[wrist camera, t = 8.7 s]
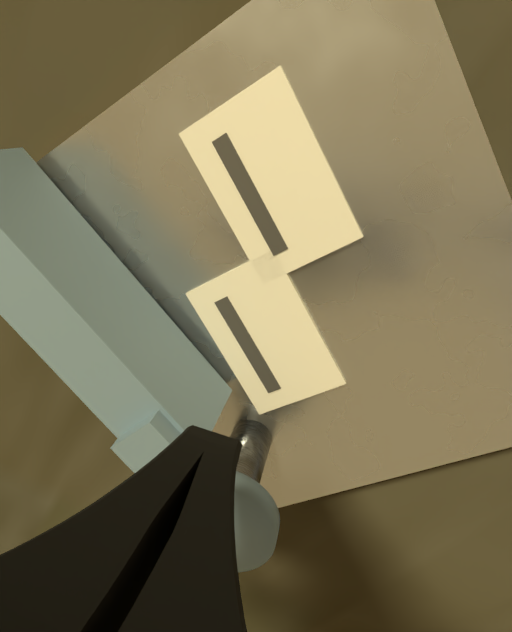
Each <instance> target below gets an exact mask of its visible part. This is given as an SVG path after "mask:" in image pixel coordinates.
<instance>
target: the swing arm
mask: <svg viewBox="0 0 512 632" xmlns="http://www.w3.org/2000/svg"><path fill="white" fill-rule="evenodd" d="M0 315H1V316H2V317H3V318H4V319H5V320H6V321H7V322H8V323H9V324H10V325H11V326H12V327H13V329H14V330H15V331H16V332H17V333H18V334H19V335H20V336H21V337H22V338H23V339H24V340H25V341H26V342H27V343H28V344H29V345H30V346H31V348H32V349H33V350H34V351H35V352H36V353H37V354H38V355H39V356H40V357H41V358H42V359H43V360H44V361H45V362H46V363H47V364H48V365H49V366H50V368H51V369H52V370H53V371H54V372H55V373H56V374H57V375H58V376H59V377H60V378H61V379H62V380H63V381H64V382H65V383H66V384H67V385H68V386H69V388H70V389H71V390H72V391H73V392H74V393H75V394H76V395H77V396H78V397H79V398H80V399H81V400H82V401H83V402H84V403H85V404H86V405H87V407H88V408H89V409H90V410H91V411H92V412H93V413H94V414H95V415H96V416H97V417H98V418H99V419H100V420H101V421H102V422H103V423H104V424H105V425H106V427H107V428H108V429H109V430H110V431H111V432H112V433H113V434H114V435H115V436H116V437H117V438H118V439H117V440H116V441H115V443H114V444H113V445H112V447H111V449H112V450H113V451H114V452H115V453H116V455H117V456H118V457H119V458H120V459H121V460H122V461H123V462H124V463H125V464H126V465H127V466H128V467H129V468H130V469H131V470H132V471H133V472H134V473H136V472H137V471H138V470H140V469H141V468H142V467H143V466H145V465H146V464H147V463H148V462H150V461H151V460H152V459H153V458H155V457H156V456H157V455H158V454H159V453H160V452H162V451H163V450H164V449H165V448H166V447H167V446H168V445H170V444H171V443H172V442H173V441H174V440H175V439H176V438H177V437H178V436H179V435H180V434H181V433H182V432H183V431H184V430H185V429H186V428H187V427H189V426H191V425H194V426H197V427H200V428H203V429H206V430H210V431H212V430H213V428H214V426H215V424H216V422H217V420H218V418H219V416H220V414H221V412H222V410H223V408H224V406H225V404H226V402H227V400H228V398H229V396H230V394H231V392H232V389H231V388H230V387H229V386H228V384H227V383H226V382H225V381H224V380H223V379H222V378H221V376H220V375H219V374H218V373H217V372H216V371H215V369H214V368H213V367H212V366H211V365H210V364H209V362H208V361H207V360H206V359H205V358H204V357H203V356H202V354H201V353H200V352H199V351H198V350H197V349H196V347H195V346H194V345H193V344H192V343H191V342H190V341H189V339H188V338H187V337H186V336H185V335H184V334H183V332H182V331H181V330H180V329H179V328H178V327H177V325H176V324H175V323H174V322H173V321H172V320H171V319H170V317H169V316H168V315H167V314H166V313H165V312H164V310H163V309H162V308H161V307H160V306H159V305H158V304H157V302H156V301H155V300H154V299H153V298H152V297H151V295H150V294H149V293H148V292H147V291H146V290H145V288H144V287H143V286H142V285H141V284H140V283H139V282H138V280H137V279H136V278H135V277H134V276H133V275H132V273H131V272H130V271H129V270H128V269H127V268H126V267H125V265H124V264H123V263H122V262H121V261H120V260H119V258H118V257H117V256H116V255H115V254H114V253H113V251H112V250H111V249H110V248H109V247H108V246H107V245H106V243H105V242H104V241H103V240H102V239H101V238H100V236H99V235H98V234H97V233H96V232H95V231H94V230H93V228H92V227H91V226H90V225H89V224H88V223H87V221H86V220H85V219H84V218H83V217H82V216H81V214H80V213H79V212H78V211H77V210H76V209H75V208H74V206H73V205H72V204H71V203H70V202H69V201H68V199H67V198H66V197H65V196H64V195H63V194H62V192H61V191H60V190H59V189H58V188H57V187H56V186H55V184H54V183H53V182H52V181H51V180H50V179H49V177H48V176H47V175H46V174H45V173H44V172H43V171H42V169H41V168H40V167H39V166H38V165H37V164H36V162H35V161H34V160H33V159H32V158H31V157H30V155H29V154H28V153H27V152H26V151H25V150H24V149H23V148H12V149H0ZM234 527H235V545H236V558H237V569H238V572H245V571H250V570H253V569H256V568H258V567H260V566H262V565H263V564H264V563H266V562H267V561H268V560H269V559H270V557H271V556H272V554H273V552H274V550H275V546H276V541H277V537H278V532H279V527H280V514H279V510H278V507H277V505H276V503H275V501H274V499H273V498H272V496H271V495H270V494H269V493H268V491H267V490H266V489H265V488H264V487H263V486H262V485H260V484H259V483H258V482H257V481H255V480H254V479H252V478H250V477H249V476H247V475H245V474H243V473H240V472H238V471H236V478H235V492H234Z"/></svg>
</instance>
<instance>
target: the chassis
mask: <svg viewBox="0 0 512 632" xmlns="http://www.w3.org/2000/svg"><path fill="white" fill-rule="evenodd" d="M280 65H281V66H282V68H283V70H284V72H285V74H286V76H287V78H288V81H289V83H290V85H291V87H292V89H293V91H294V93H295V95H296V97H297V99H298V101H299V103H300V105H301V107H302V110H303V112H304V114H305V116H306V118H307V120H308V122H309V124H310V126H311V128H312V130H313V132H314V134H315V136H316V139H317V141H318V143H319V145H320V147H321V149H322V151H323V153H324V155H325V157H326V159H327V161H328V163H329V165H330V167H331V170H332V172H333V174H334V176H335V178H336V180H337V182H338V184H339V186H340V188H341V190H342V192H343V194H344V196H345V199H346V201H347V203H348V205H349V207H350V209H351V211H352V213H353V215H354V217H355V219H356V221H357V223H358V225H359V228H360V230H361V232H362V234H363V237H362V238H360V239H358V240H356V241H354V242H352V243H350V244H348V245H346V246H343V247H341V248H339V249H337V250H335V251H333V252H331V253H329V254H327V255H325V256H322V257H320V258H318V259H316V260H314V261H312V262H310V263H308V264H306V265H304V266H301V267H299V268H297V269H295V270H293V271H291V272H289V273H288V274H289V276H290V278H291V280H292V281H293V283H294V285H295V287H296V289H297V291H298V293H299V294H300V296H301V298H302V300H303V302H304V304H305V305H306V307H307V309H308V311H309V313H310V315H311V317H312V318H313V320H314V322H315V324H316V326H317V328H318V330H319V331H320V333H321V335H322V337H323V339H324V341H325V342H326V344H327V346H328V348H329V350H330V352H331V354H332V355H333V357H334V359H335V361H336V363H337V365H338V366H339V368H340V370H341V372H342V374H343V376H344V378H345V379H346V384H345V385H342V386H339V387H336V388H333V389H330V390H328V391H325V392H322V393H319V394H316V395H313V396H311V397H308V398H305V399H302V400H299V401H297V402H294V403H291V404H288V405H285V406H282V407H280V408H277V409H274V410H271V411H268V412H266V413H263V414H260V415H259V413H258V412H257V410H256V408H255V407H254V405H253V403H252V402H251V400H250V399H249V397H248V395H247V394H246V392H245V390H244V389H243V387H242V386H241V384H240V382H239V381H238V379H237V377H236V376H235V374H234V372H233V371H232V369H231V368H230V366H229V364H228V363H227V361H226V359H225V358H224V356H223V355H222V353H221V351H220V350H219V348H218V346H217V345H216V343H215V341H214V340H213V338H212V337H211V335H210V333H209V332H208V330H207V328H206V327H205V325H204V324H203V322H202V320H201V319H200V317H199V315H198V314H197V312H196V310H195V309H194V307H193V306H192V304H191V302H190V301H189V299H188V297H187V296H186V293H187V292H189V291H191V290H193V289H195V288H197V287H199V286H201V285H203V284H205V283H207V282H209V281H211V280H213V279H215V278H217V277H219V276H220V275H222V274H224V273H226V272H228V271H230V270H232V269H234V268H236V267H238V266H240V265H242V264H244V263H246V262H248V261H250V260H249V259H248V257H247V255H246V253H245V252H244V250H243V248H242V246H241V244H240V243H239V241H238V239H237V237H236V236H235V234H234V232H233V230H232V228H231V227H230V225H229V223H228V221H227V219H226V218H225V216H224V214H223V212H222V211H221V209H220V207H219V205H218V203H217V202H216V200H215V198H214V196H213V194H212V193H211V191H210V189H209V187H208V186H207V184H206V182H205V180H204V178H203V177H202V175H201V173H200V171H199V170H198V168H197V166H196V164H195V162H194V161H193V159H192V157H191V155H190V153H189V152H188V150H187V148H186V146H185V145H184V143H183V141H182V139H181V137H180V136H179V133H180V132H182V131H183V130H185V129H186V128H188V127H189V126H191V125H192V124H194V123H195V122H197V121H198V120H200V119H201V118H203V117H204V116H206V115H207V114H209V113H210V112H212V111H213V110H215V109H216V108H218V107H219V106H221V105H222V104H224V103H225V102H227V101H228V100H229V99H231V98H232V97H234V96H235V95H237V94H238V93H240V92H241V91H243V90H244V89H246V88H247V87H249V86H250V85H252V84H253V83H255V82H256V81H258V80H259V79H261V78H262V77H264V76H265V75H267V74H268V73H270V72H271V71H273V70H274V69H276V68H277V67H279V66H280ZM36 164H37V165H38V166H39V167H40V168H41V169H42V171H43V172H44V173H45V174H46V175H47V176H48V177H49V179H50V180H51V181H52V182H53V183H54V184H55V186H56V187H57V188H58V189H59V190H60V191H61V192H62V194H63V195H64V196H65V197H66V198H67V199H68V201H69V202H70V203H71V204H72V205H73V206H74V208H75V209H76V210H77V211H78V212H79V213H80V214H81V216H82V217H83V218H84V219H85V220H86V221H87V223H88V224H89V225H90V226H91V227H92V228H93V230H94V231H95V232H96V233H97V234H98V235H99V236H100V238H101V239H102V240H103V241H104V242H105V243H106V245H107V246H108V247H109V248H110V249H111V250H112V251H113V253H114V254H115V255H116V256H117V257H118V258H119V260H120V261H121V262H122V263H123V264H124V265H125V267H126V268H127V269H128V270H129V271H130V272H131V273H132V275H133V276H134V277H135V278H136V279H137V280H138V282H139V283H140V284H141V285H142V286H143V287H144V288H145V290H146V291H147V292H148V293H149V294H150V295H151V297H152V298H153V299H154V300H155V301H156V302H157V304H158V305H159V306H160V307H161V308H162V309H163V310H164V312H165V313H166V314H167V315H168V316H169V317H170V319H171V320H172V321H173V322H174V323H175V324H176V325H177V327H178V328H179V329H180V330H181V331H182V332H183V334H184V335H185V336H186V337H187V338H188V339H189V341H190V342H191V343H192V344H193V345H194V346H195V347H196V349H197V350H198V351H199V352H200V353H201V354H202V356H203V357H204V358H205V359H206V360H207V361H208V362H209V364H210V365H211V366H212V367H213V368H214V369H215V371H216V372H217V373H218V374H219V375H220V376H221V378H222V379H223V380H224V381H225V382H226V383H227V384H228V386H229V387H230V388H231V389H232V392H231V394H230V396H229V398H228V400H227V402H226V404H225V406H224V408H223V410H222V412H221V414H220V416H219V418H218V420H217V422H216V424H215V426H214V428H213V430H212V431H213V432H216V433H219V434H222V435H225V436H228V437H231V438H234V439H237V440H239V441H240V442H241V444H242V448H241V452H240V456H239V460H238V464H237V468H236V471H238V472H240V473H243V474H245V475H247V476H249V477H250V478H252V479H254V480H255V481H257V482H258V483H259V484H260V485H262V486H263V487H264V488H265V489H266V490H267V491H268V493H269V494H270V495H271V496H272V498H273V499H274V501H275V503H276V505H277V507H278V508H280V507H284V506H288V505H292V504H295V503H299V502H303V501H307V500H311V499H315V498H318V497H322V496H326V495H330V494H334V493H338V492H341V491H345V490H349V489H353V488H357V487H360V486H364V485H368V484H372V483H376V482H380V481H383V480H387V479H391V478H395V477H399V476H403V475H406V474H410V473H414V472H418V471H422V470H426V469H429V468H433V467H437V466H441V465H445V464H448V463H452V462H456V461H460V460H464V459H468V458H471V457H475V456H479V455H483V454H487V453H491V452H494V451H498V450H502V449H506V448H510V447H512V200H511V198H510V195H509V193H508V190H507V187H506V185H505V182H504V180H503V177H502V174H501V172H500V169H499V167H498V164H497V161H496V159H495V156H494V154H493V151H492V148H491V146H490V143H489V141H488V138H487V135H486V133H485V130H484V128H483V125H482V123H481V120H480V117H479V115H478V112H477V110H476V107H475V104H474V102H473V99H472V97H471V94H470V91H469V89H468V86H467V84H466V81H465V78H464V76H463V73H462V71H461V68H460V65H459V63H458V60H457V58H456V55H455V52H454V50H453V47H452V45H451V42H450V39H449V37H448V34H447V32H446V29H445V26H444V24H443V21H442V19H441V16H440V13H439V11H438V8H437V6H436V3H435V1H434V0H251V1H250V2H249V3H247V4H246V5H245V6H243V7H242V8H241V9H239V10H238V11H237V12H235V13H234V14H233V15H231V16H230V17H229V18H227V19H226V20H225V21H223V22H222V23H221V24H220V25H218V26H217V27H216V28H214V29H213V30H212V31H210V32H209V33H208V34H206V35H205V36H204V37H202V38H201V39H200V40H198V41H197V42H196V43H194V44H193V45H192V46H190V47H189V48H188V49H186V50H185V51H184V52H182V53H181V54H180V55H178V56H177V57H176V58H174V59H173V60H172V61H170V62H169V63H168V64H166V65H165V66H164V67H162V68H161V69H160V70H158V71H157V72H156V73H154V74H153V75H152V76H151V77H149V78H148V79H147V80H145V81H144V82H143V83H141V84H140V85H139V86H137V87H136V88H135V89H133V90H132V91H131V92H129V93H128V94H127V95H125V96H124V97H123V98H121V99H120V100H119V101H117V102H116V103H115V104H113V105H112V106H111V107H109V108H108V109H107V110H105V111H104V112H103V113H101V114H100V115H99V116H97V117H96V118H95V119H93V120H92V121H91V122H89V123H88V124H87V125H85V126H84V127H83V128H82V129H80V130H79V131H78V132H76V133H75V134H74V135H72V136H71V137H70V138H68V139H67V140H66V141H64V142H63V143H62V144H60V145H59V146H58V147H56V148H55V149H54V150H52V151H51V152H50V153H48V154H47V155H46V156H44V157H43V158H42V159H40V160H39V161H38V162H36Z"/></svg>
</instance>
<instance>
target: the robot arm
mask: <svg viewBox="0 0 512 632" xmlns="http://www.w3.org/2000/svg"><path fill="white" fill-rule="evenodd" d="M241 448H242V444H241V442H240V441H239V440H237V439H234V438H231V437H228V436H225V435H222V434H219V433H216V432H213V431H210V430H206V429H203V428H200V427H197V426H194V425H191V426H189V427H187V428H186V429H185V430H184V431H183V432H182V433H181V434H180V435H179V436H178V437H177V438H176V439H175V440H174V441H173V442H172V443H171V444H170V445H168V446H167V447H166V448H165V449H164V450H163V451H162V452H160V453H159V454H158V455H157V456H156V457H155V458H153V459H152V460H151V461H150V462H148V463H147V464H146V465H145V466H143V467H142V468H141V469H140V470H138V471H137V472H136V473H135V474H133V475H132V476H131V477H129V478H128V479H127V480H125V481H124V482H123V483H121V484H120V485H118V486H117V487H116V488H114V489H113V490H111V491H110V492H108V493H107V494H106V495H104V496H103V497H101V498H100V499H99V500H97V501H95V502H94V503H92V504H91V505H89V506H88V507H86V508H85V509H83V510H82V511H80V512H78V513H77V514H75V515H73V516H72V517H70V518H68V519H67V520H65V521H63V522H62V523H60V524H58V525H57V526H55V527H53V528H51V529H49V530H47V531H46V532H44V533H42V534H40V535H38V536H36V537H35V538H33V539H31V540H29V541H27V542H25V543H23V544H21V545H19V546H17V547H16V548H14V549H11V550H9V551H7V552H5V553H3V554H1V555H0V632H247V629H246V624H245V619H244V613H243V606H242V600H241V593H240V585H239V577H238V569H237V558H236V545H235V527H234V492H235V478H236V468H237V464H238V460H239V456H240V452H241Z"/></svg>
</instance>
